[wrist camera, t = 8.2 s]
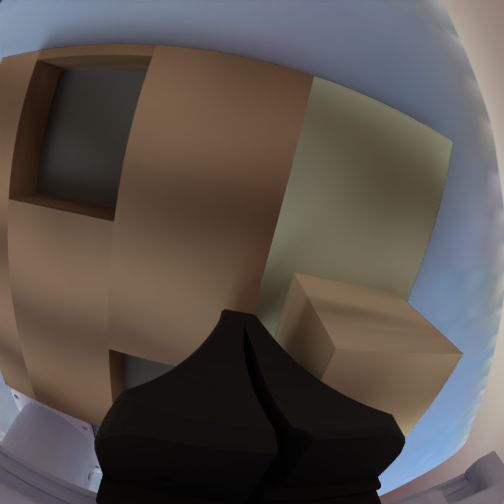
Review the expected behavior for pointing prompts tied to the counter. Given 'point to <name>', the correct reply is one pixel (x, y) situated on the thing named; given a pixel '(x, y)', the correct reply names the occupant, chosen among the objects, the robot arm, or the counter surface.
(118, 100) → the trap deck
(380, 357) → the beech block
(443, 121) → the counter surface
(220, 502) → the robot arm
